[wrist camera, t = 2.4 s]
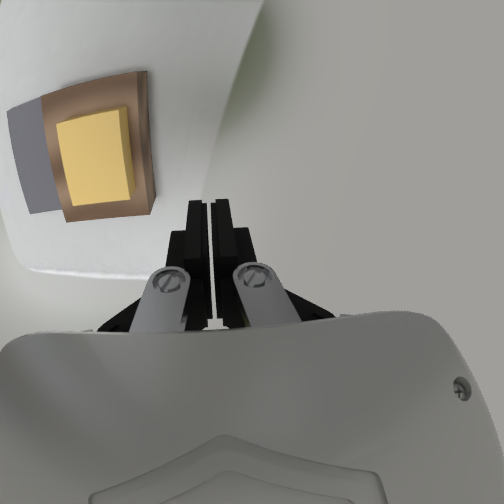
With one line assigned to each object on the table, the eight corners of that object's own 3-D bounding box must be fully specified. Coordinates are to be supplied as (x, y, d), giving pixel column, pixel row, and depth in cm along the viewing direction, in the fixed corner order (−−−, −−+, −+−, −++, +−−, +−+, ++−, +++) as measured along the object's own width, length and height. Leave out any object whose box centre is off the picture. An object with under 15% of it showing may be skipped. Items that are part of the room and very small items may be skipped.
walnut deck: (59, 90, 19) (40, 96, 16) (146, 71, 20) (136, 71, 17) (79, 204, 27) (66, 222, 24) (155, 196, 29) (149, 214, 26)
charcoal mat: (9, 110, 18) (6, 111, 17) (56, 92, 19) (53, 92, 18) (32, 211, 26) (30, 214, 26) (75, 205, 27) (73, 207, 27)
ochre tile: (68, 118, 18) (56, 123, 16) (126, 105, 19) (118, 109, 17) (82, 194, 23) (72, 206, 21) (135, 188, 24) (129, 199, 22)
